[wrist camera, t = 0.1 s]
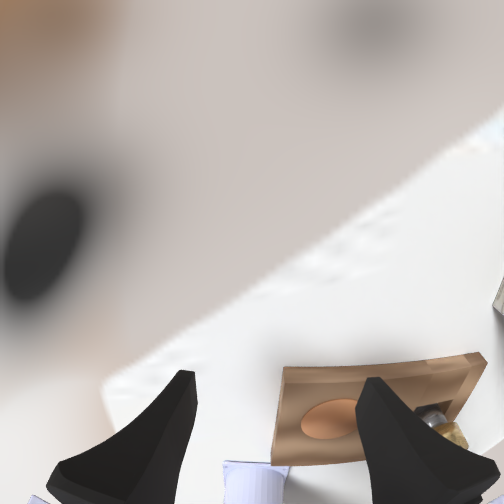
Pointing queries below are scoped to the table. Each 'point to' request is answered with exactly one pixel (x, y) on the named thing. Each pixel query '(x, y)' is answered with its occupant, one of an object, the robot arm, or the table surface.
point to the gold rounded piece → (441, 424)
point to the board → (346, 397)
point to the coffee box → (500, 299)
